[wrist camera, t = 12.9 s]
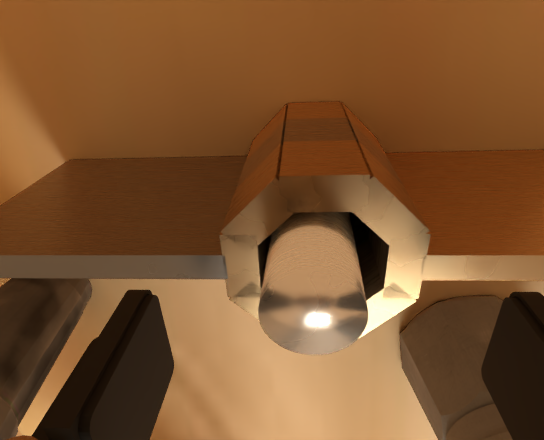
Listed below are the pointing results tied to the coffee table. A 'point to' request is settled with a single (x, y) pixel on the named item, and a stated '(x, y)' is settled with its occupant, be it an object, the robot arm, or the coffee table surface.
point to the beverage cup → (33, 338)
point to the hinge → (285, 212)
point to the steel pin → (313, 285)
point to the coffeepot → (454, 367)
